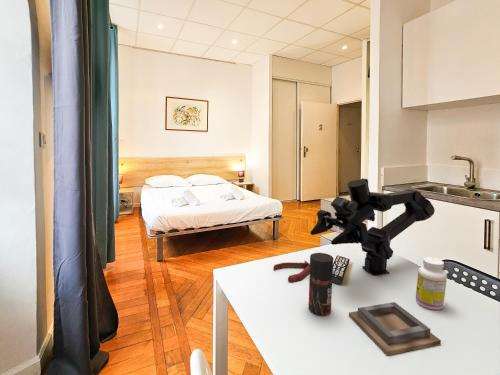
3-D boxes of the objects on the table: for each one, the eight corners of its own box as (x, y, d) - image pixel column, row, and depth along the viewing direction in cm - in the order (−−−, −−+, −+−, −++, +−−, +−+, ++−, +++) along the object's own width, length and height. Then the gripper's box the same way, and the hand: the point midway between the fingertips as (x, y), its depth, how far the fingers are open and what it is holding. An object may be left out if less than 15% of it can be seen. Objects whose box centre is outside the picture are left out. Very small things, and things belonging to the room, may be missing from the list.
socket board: (394, 308, 75) (395, 298, 74) (440, 344, 61) (441, 332, 61) (348, 315, 72) (349, 305, 71) (386, 355, 58) (388, 343, 58)
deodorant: (327, 318, 70) (329, 263, 68) (305, 311, 74) (306, 258, 71) (333, 307, 75) (336, 255, 73) (312, 300, 78) (314, 251, 76)
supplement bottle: (418, 294, 81) (423, 253, 79) (445, 303, 77) (450, 260, 75) (412, 303, 77) (416, 260, 75) (440, 314, 72) (445, 268, 70)
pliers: (337, 272, 97) (337, 265, 97) (290, 285, 88) (290, 277, 88) (316, 260, 107) (316, 253, 107) (272, 270, 98) (272, 263, 98)
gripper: (330, 188, 94) (295, 208, 89) (376, 197, 78) (337, 223, 72) (337, 216, 98) (304, 237, 92) (383, 231, 81) (346, 257, 76)
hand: (320, 238), depth 83 cm, fingers open, 9 cm apart
